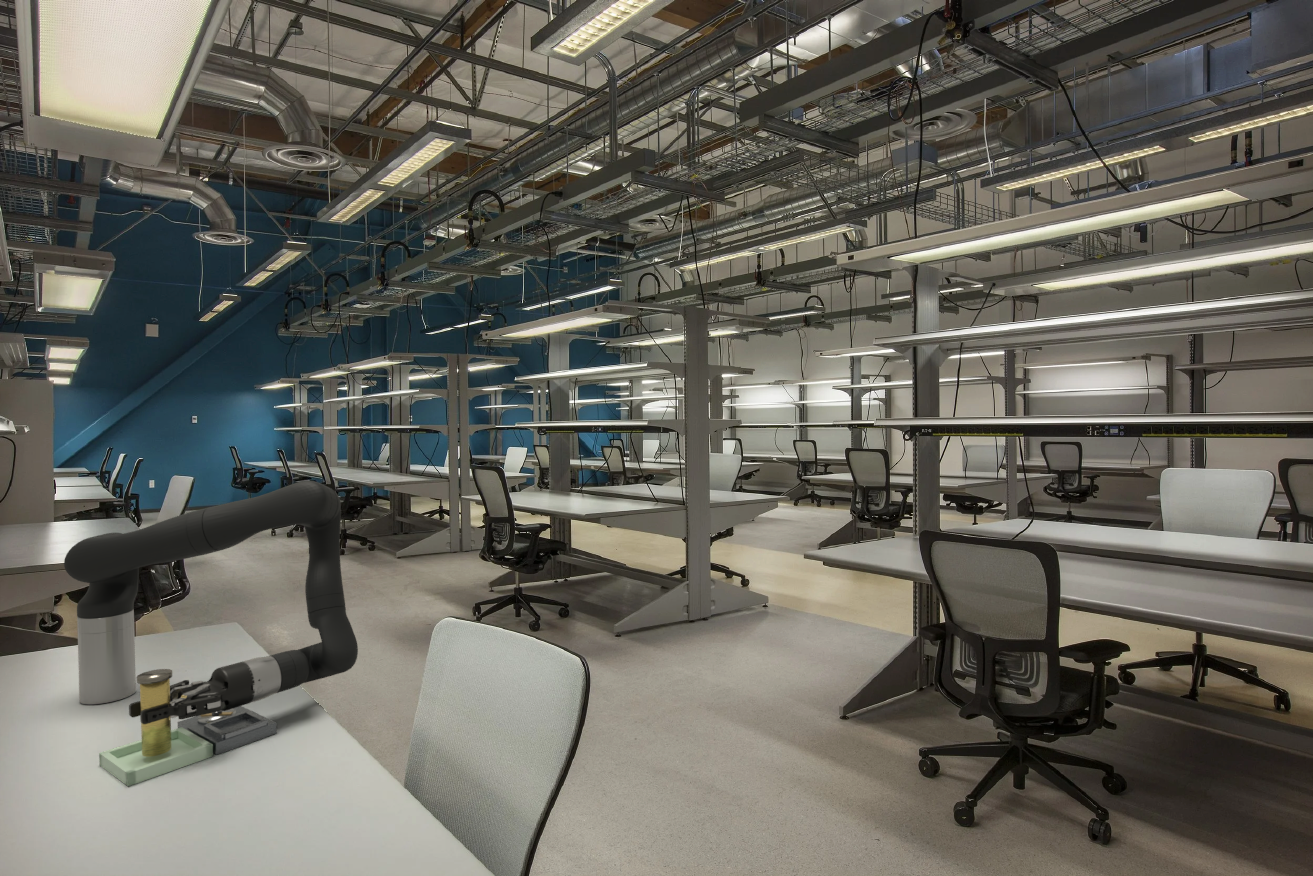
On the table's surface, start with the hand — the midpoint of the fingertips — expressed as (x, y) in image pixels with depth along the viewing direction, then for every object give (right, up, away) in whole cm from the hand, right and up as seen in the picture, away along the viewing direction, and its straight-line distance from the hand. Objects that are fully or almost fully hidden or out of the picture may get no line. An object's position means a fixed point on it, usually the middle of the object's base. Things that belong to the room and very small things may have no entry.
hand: (136, 714), depth 116 cm
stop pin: (+2, -7, +2) cm, 8 cm away
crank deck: (+7, -8, +13) cm, 17 cm away
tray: (+2, -9, +2) cm, 9 cm away
